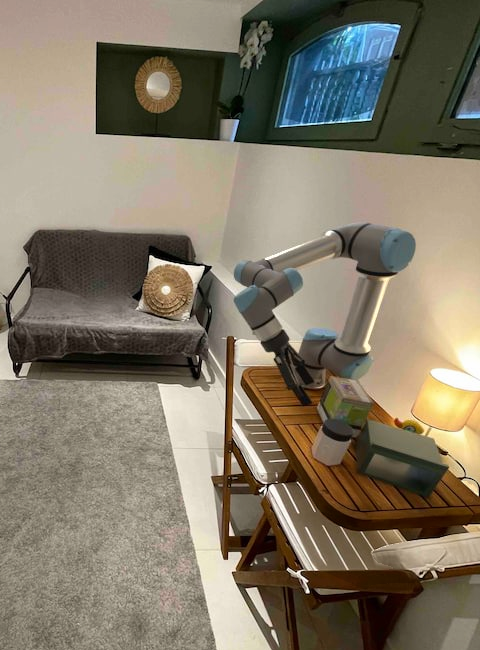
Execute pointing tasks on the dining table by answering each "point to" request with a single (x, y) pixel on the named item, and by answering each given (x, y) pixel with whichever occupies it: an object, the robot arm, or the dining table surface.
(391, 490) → the dining table surface
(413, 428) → the duckling
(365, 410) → the tea box
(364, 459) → the shelf
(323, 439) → the jar
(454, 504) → the dining table surface
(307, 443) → the dining table surface
